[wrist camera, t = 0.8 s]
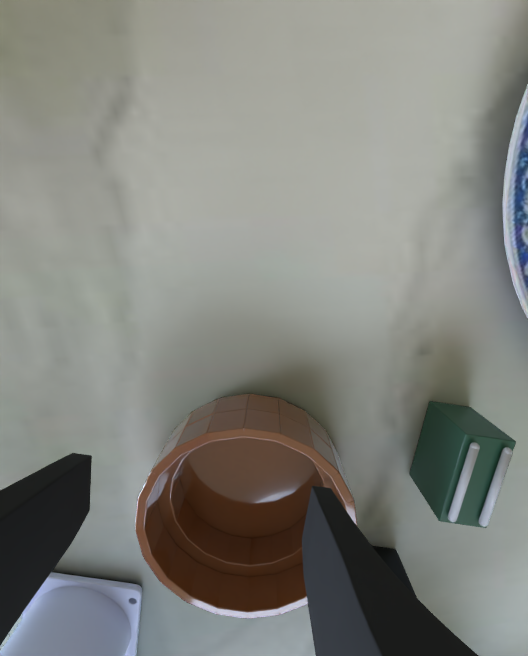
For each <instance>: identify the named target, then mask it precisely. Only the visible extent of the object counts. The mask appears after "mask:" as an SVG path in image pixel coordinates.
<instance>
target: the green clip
mask: <svg viewBox="0 0 528 656" xmlns="http://www.w3.org/2000/svg"><path fill="white" fill-rule="evenodd" d="M515 443H516V441H515V440H513V439H512V438H511V437H509V436H508V435H507V434H505V433H504V432H503V431H501V430H500V429H499V428H497V427H496V426H495V425H493V424H492V423H491V422H489V421H488V420H487V419H485V418H484V417H483V416H481V415H480V414H479V413H477V412H476V411H475V410H473V409H472V408H471V407H466V406H459V405H452V404H446V403H439V402H432V401H430V402H429V406H428V409H427V413H426V416H425V420H424V424H423V427H422V431H421V435H420V438H419V442H418V445H417V449H416V453H415V456H414V460H413V464H412V467H411V471H410V476H411V478H412V479H413V481H414V482H415V484H416V486H417V487H418V489H419V490H420V492H421V493H422V495H423V496H424V498H425V500H426V501H427V503H428V504H429V506H430V507H431V509H432V511H433V512H434V514H435V515H436V517H437V518H438V520H439V521H441V522H448V523H455V524H462V525H469V526H476V527H483V528H486V527H487V526H488V523H489V520H490V517H491V515H492V512H493V509H494V506H495V503H496V500H497V497H498V494H499V491H500V488H501V486H502V483H503V480H504V477H505V474H506V471H507V468H508V465H509V462H510V459H511V457H512V454H513V449H514V446H515Z"/></svg>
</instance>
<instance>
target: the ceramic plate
mask: <svg viewBox="0 0 528 656" xmlns="http://www.w3.org/2000/svg"><path fill="white" fill-rule="evenodd" d="M503 225H504V245H505V250H506V255H507V259H508V263H509V268H510V272H511V277H512V281H513V285H514V288H515V290H516V293H517V296H518V299H519V301H520V304H521V307H522V309H523V311H524V313H525V315H526V317H527V319H528V85H527V88H526V90H525V93H524V96H523V99H522V102H521V105H520V107H519V110H518V113H517V116H516V120H515V124H514V128H513V132H512V136H511V140H510V144H509V149H508V156H507V162H506V169H505V175H504V189H503Z"/></svg>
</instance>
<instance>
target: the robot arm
mask: <svg viewBox="0 0 528 656" xmlns="http://www.w3.org/2000/svg"><path fill="white" fill-rule="evenodd" d="M91 457H92V456H90V455H83V454H76V453H72V454H70V455H68V456H66V457H64V458H62V459H60V460H58V461H56V462H54V463H52V464H50V465H48V466H46V467H44V468H43V469H41V470H39V471H37V472H35V473H33V474H31V475H29V476H27V477H25V478H24V479H22V480H20V481H18V482H16V483H14V484H12V485H10V486H8V487H6V488H4V489H2V490H0V645H1V644H2V642H3V640H4V639H5V637H6V636H7V634H8V633H9V631H10V630H11V628H12V627H13V625H14V624H15V622H16V621H17V620H18V618H19V617H20V615H21V614H22V620H21V622H20V623H19V625H18V626H17V628H16V629H15V631H14V632H13V634H12V635H11V636H10V638H9V639H8V641H7V642H6V644H5V645H4V647H3V648H2V650H1V651H0V656H136V655H137V645H138V634H139V623H140V612H141V602H142V588H141V586H139V585H137V584H132V583H125V582H118V581H110V580H103V579H96V578H89V577H82V576H75V575H68V574H61V573H54V572H52V570H53V569H54V567H55V566H56V565H57V563H58V562H59V560H60V559H61V557H62V556H63V555H64V553H65V552H66V550H67V549H68V547H69V546H70V544H71V543H72V541H73V539H74V538H75V536H76V534H77V532H78V531H79V529H80V527H81V525H82V523H83V521H84V520H85V518H86V516H87V514H88V512H89V510H90V484H91ZM302 556H303V574H304V581H305V587H306V594H307V601H308V607H309V614H310V620H311V627H312V633H313V640H314V646H315V652H316V656H478V655H477V654H476V653H475V652H473V651H472V650H471V649H470V648H469V647H468V646H467V645H465V644H464V643H463V642H462V641H461V640H460V639H459V638H458V637H457V636H455V635H454V634H453V633H452V632H451V631H450V630H449V629H448V628H447V627H446V626H445V625H444V624H443V623H442V622H441V621H439V620H438V619H437V618H436V617H435V616H434V615H433V614H432V613H431V612H430V611H429V610H428V609H427V608H426V607H425V606H424V605H423V604H422V603H421V602H420V601H419V600H418V599H417V598H416V597H415V595H414V594H413V593H412V592H411V591H410V590H409V589H408V588H407V587H406V586H405V585H404V584H403V583H402V582H401V581H400V579H399V578H398V577H397V576H396V575H395V574H394V573H393V571H392V570H391V569H390V568H389V567H388V565H387V564H386V563H385V562H384V561H383V559H382V558H381V557H380V556H379V555H378V553H377V552H376V551H375V550H374V548H373V547H372V546H371V544H370V543H369V542H368V540H367V539H366V538H365V536H364V535H363V534H362V532H361V531H360V530H359V528H358V527H357V525H356V524H355V523H354V521H353V520H352V518H351V517H350V515H349V514H348V513H347V511H346V510H345V508H344V507H343V505H342V504H341V502H340V501H339V499H338V498H337V496H336V495H335V494H334V492H333V491H332V489H331V488H326V487H319V486H312V489H311V494H310V499H309V504H308V509H307V514H306V520H305V525H304V530H303V535H302Z"/></svg>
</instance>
